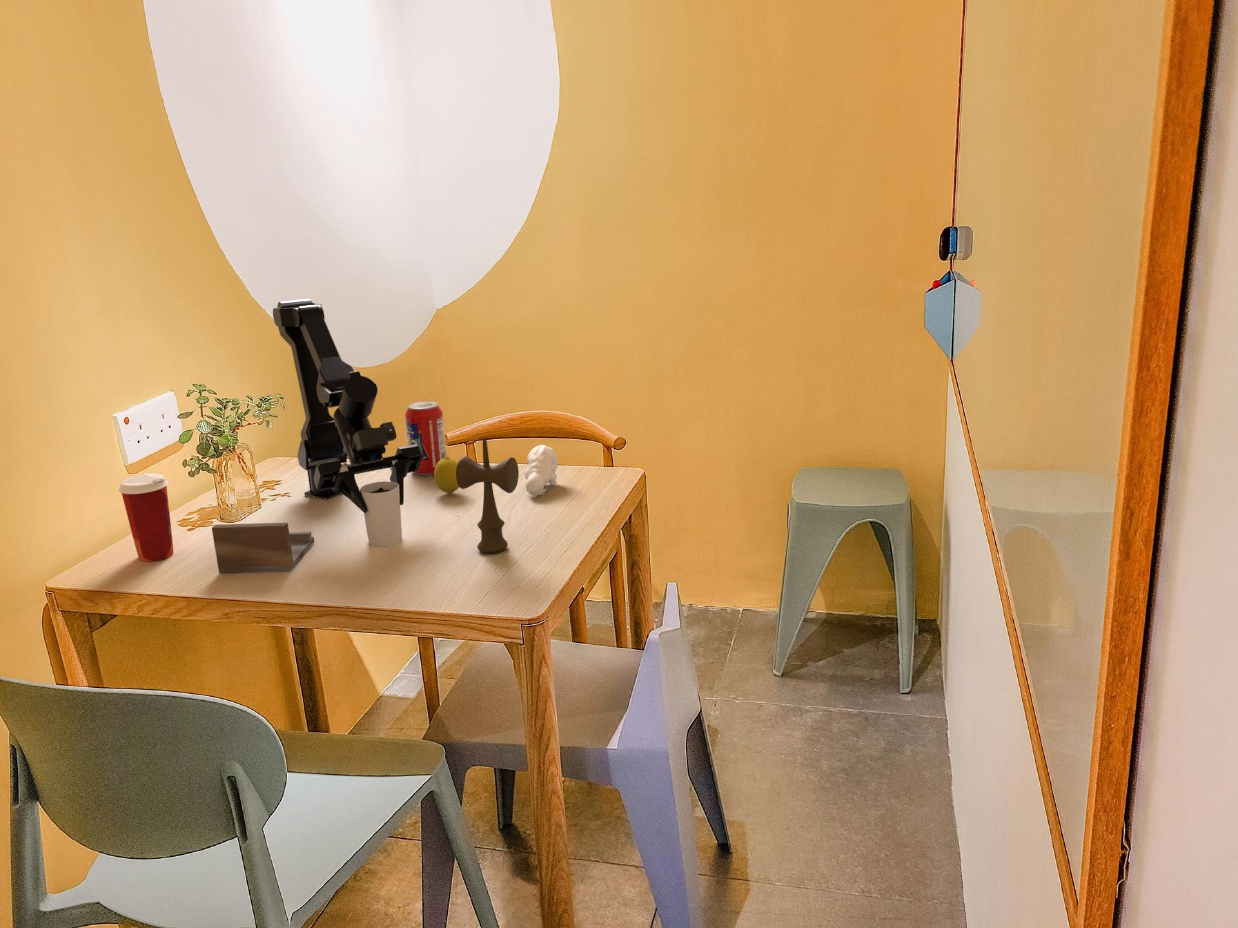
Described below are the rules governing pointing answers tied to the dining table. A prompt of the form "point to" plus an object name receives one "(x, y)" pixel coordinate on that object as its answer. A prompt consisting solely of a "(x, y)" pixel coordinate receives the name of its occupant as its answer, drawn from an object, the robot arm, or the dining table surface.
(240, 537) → the holder
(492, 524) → the kendama
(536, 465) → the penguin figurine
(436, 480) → the lemon
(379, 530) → the white cup
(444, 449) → the soda can
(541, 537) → the dining table surface
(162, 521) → the paper cup
